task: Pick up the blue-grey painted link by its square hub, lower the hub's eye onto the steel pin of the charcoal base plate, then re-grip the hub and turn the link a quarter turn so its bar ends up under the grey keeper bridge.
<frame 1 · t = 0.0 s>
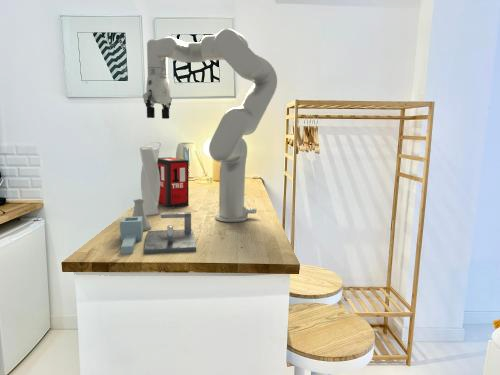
hand: (158, 118, 144), 37 cm above the table, tool pointing down, fingers open, 9 cm apart
flask: (139, 229, 121), on the table
cleaning product box: (170, 204, 162), on the table
link: (127, 253, 98), on the table
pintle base: (170, 242, 108), on the table
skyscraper: (151, 213, 143), on the table
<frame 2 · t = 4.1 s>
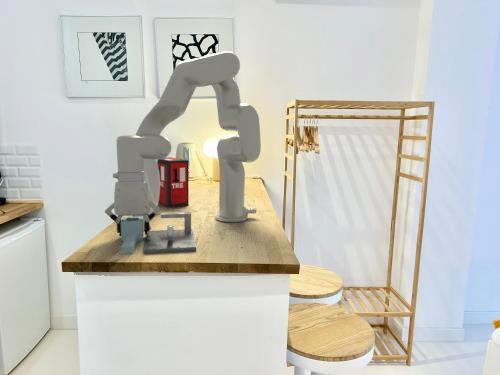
hand: (133, 233, 111), 1 cm above the table, tool pointing down, fingers open, 6 cm apart
link: (127, 253, 98), on the table, touching gripper
everything else where it was.
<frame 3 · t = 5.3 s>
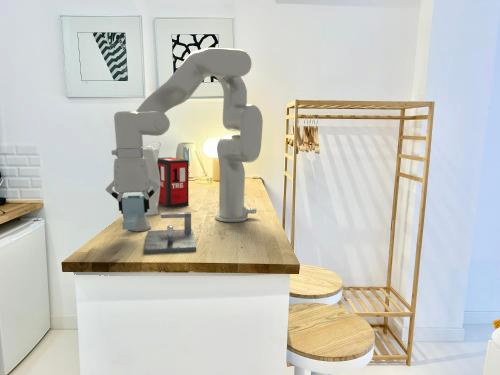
hand: (134, 211, 111), 8 cm above the table, tool pointing down, fingers closed on link, 6 cm apart
link: (128, 229, 97), point 7 cm above the table, touching gripper
everything else where it was.
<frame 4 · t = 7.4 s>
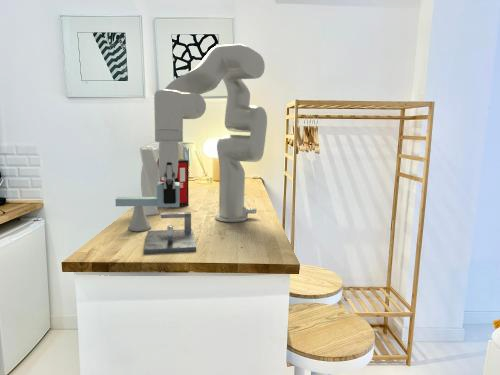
hand: (169, 200, 102), 14 cm above the table, tool pointing down, fingers closed on link, 6 cm apart
link: (116, 205, 99), point 13 cm above the table, touching gripper
everything else where it was.
when the fingers open (3 cm above the table, at t = 9.7 s): link stays where it is, resting on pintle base.
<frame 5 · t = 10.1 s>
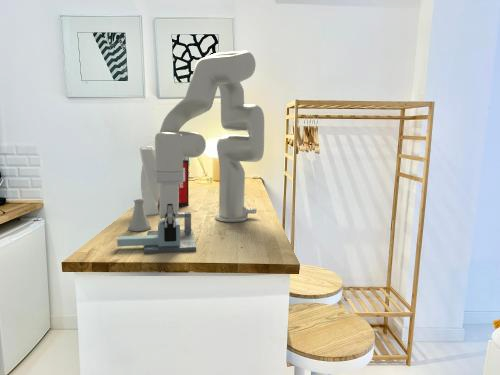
hand: (170, 235, 104), 3 cm above the table, tool pointing down, fingers open, 9 cm apart
link: (118, 244, 101), point 1 cm above the table, touching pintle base
everything else where it was.
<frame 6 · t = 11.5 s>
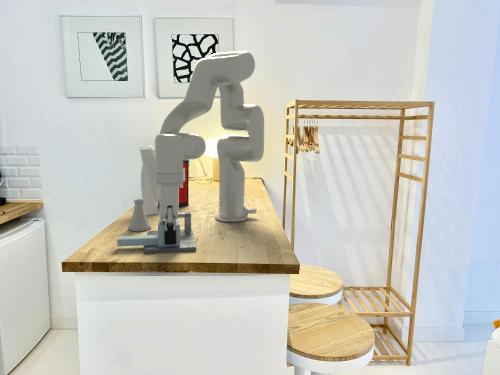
hand: (170, 239, 104), 2 cm above the table, tool pointing down, fingers closed on link, 6 cm apart
link: (118, 244, 101), point 1 cm above the table, touching gripper, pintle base
everything else where it was.
when the fingers open (2 cm above the table, at t = 13.5 s): link stays where it is, resting on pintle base.
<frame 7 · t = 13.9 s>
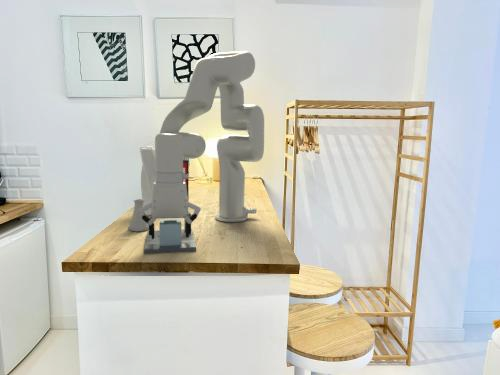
hand: (170, 236, 104), 3 cm above the table, tool pointing down, fingers open, 9 cm apart
link: (170, 228, 118), point 1 cm above the table, touching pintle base
everything else where it was.
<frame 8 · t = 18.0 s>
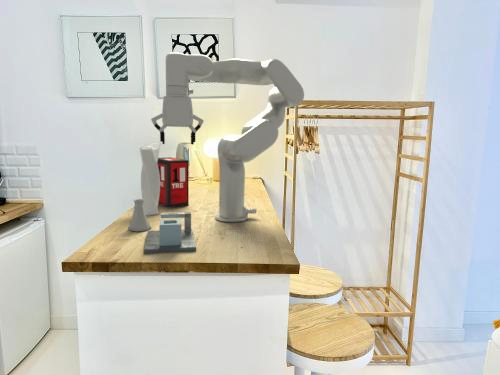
hand: (178, 144, 123), 28 cm above the table, tool pointing down, fingers open, 9 cm apart
nothing on the table moved.
at the end: link 0.5 cm from the target spot on the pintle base, point 1.2 cm above the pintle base's base; link tilted 0°; the gripper is holding nothing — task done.
